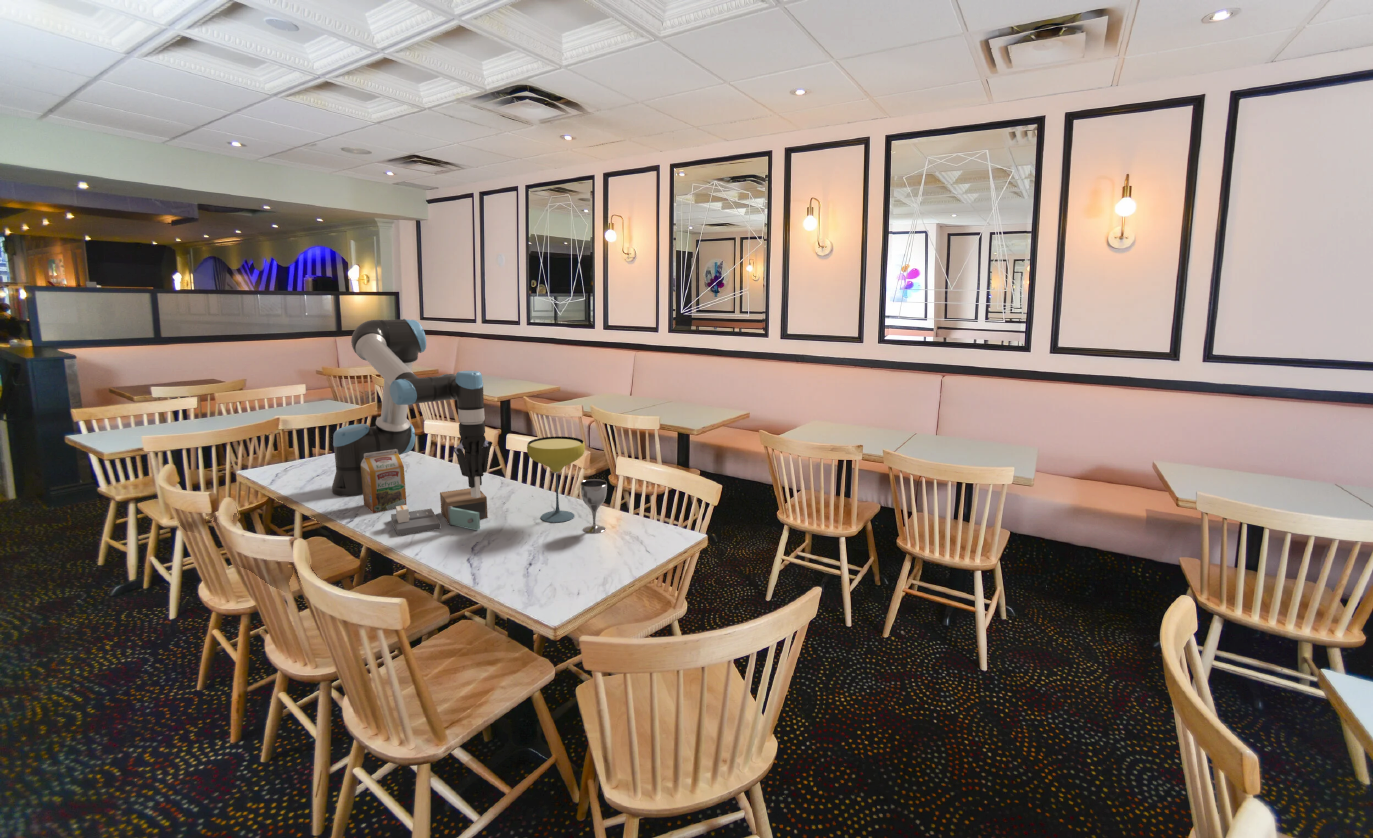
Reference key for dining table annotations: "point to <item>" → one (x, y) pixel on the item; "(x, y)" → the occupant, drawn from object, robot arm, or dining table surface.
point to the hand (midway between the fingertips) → (475, 496)
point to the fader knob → (402, 513)
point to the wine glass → (593, 500)
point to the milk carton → (383, 481)
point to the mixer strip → (416, 522)
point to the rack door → (463, 518)
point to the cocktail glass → (556, 464)
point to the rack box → (463, 502)
